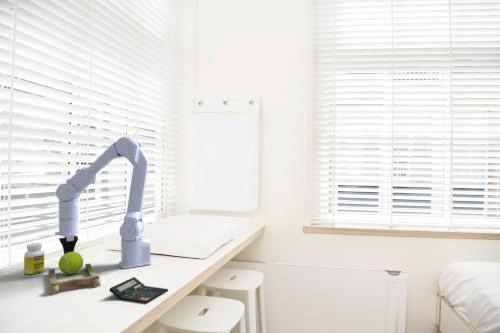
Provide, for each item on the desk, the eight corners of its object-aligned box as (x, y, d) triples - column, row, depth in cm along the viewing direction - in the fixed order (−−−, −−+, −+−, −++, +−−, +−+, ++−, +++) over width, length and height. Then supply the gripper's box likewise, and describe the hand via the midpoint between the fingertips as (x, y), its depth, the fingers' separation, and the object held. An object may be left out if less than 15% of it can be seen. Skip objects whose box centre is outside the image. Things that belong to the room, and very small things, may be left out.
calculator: (146, 305, 86) (146, 293, 86) (109, 299, 90) (109, 287, 90) (168, 292, 94) (167, 281, 94) (133, 287, 98) (133, 276, 98)
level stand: (90, 267, 117) (90, 260, 117) (100, 286, 98) (100, 277, 98) (48, 274, 110) (48, 266, 110) (50, 295, 92) (50, 286, 92)
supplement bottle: (34, 278, 106) (34, 246, 106) (19, 277, 107) (19, 246, 107) (48, 273, 111) (48, 242, 111) (34, 272, 112) (33, 242, 112)
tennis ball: (76, 269, 115) (75, 248, 115) (87, 273, 111) (87, 251, 111) (54, 275, 109) (54, 253, 109) (65, 279, 105) (65, 256, 105)
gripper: (54, 217, 122) (54, 255, 122) (56, 222, 110) (56, 265, 110) (76, 215, 126) (76, 252, 126) (80, 220, 113) (80, 262, 113)
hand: (68, 258), depth 118 cm, fingers closed
